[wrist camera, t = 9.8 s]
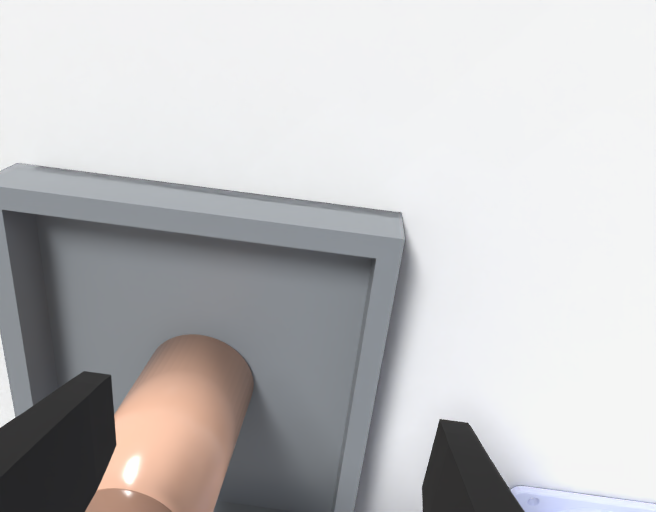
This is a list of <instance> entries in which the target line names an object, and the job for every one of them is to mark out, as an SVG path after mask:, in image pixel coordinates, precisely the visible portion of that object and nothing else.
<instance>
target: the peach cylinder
mask: <svg viewBox="0 0 656 512" xmlns="http://www.w3.org/2000/svg"><path fill="white" fill-rule="evenodd" d="M253 387H254V382H253V376H252V372H251V370H250V368H249V366H248V364H247V363H246V361H245V360H244V359H243V357H242V356H241V355H240V354H239V353H238V352H237V351H236V350H234V349H233V348H232V347H231V346H229V345H227V344H226V343H224V342H222V341H220V340H217V339H215V338H212V337H208V336H204V335H195V334H189V335H181V336H176V337H174V338H171V339H169V340H167V341H165V342H164V343H162V344H161V345H160V346H159V347H158V348H157V349H156V350H155V352H154V353H153V355H152V356H151V358H150V360H149V361H148V363H147V364H146V366H145V367H144V369H143V370H142V372H141V374H140V375H139V377H138V378H137V380H136V381H135V383H134V384H133V386H132V388H131V389H130V391H129V392H128V394H127V395H126V397H125V398H124V400H123V402H122V403H121V405H120V406H119V408H118V409H117V411H116V412H115V414H114V418H115V431H116V444H117V445H116V448H115V450H114V453H113V455H112V457H111V460H110V462H109V465H108V467H107V469H106V472H105V474H104V476H103V478H102V481H101V483H100V485H99V487H98V489H97V491H96V493H95V495H94V497H93V498H92V500H91V502H90V504H89V505H88V507H87V509H86V511H85V512H213V511H214V508H215V505H216V502H217V499H218V496H219V493H220V490H221V487H222V484H223V481H224V478H225V475H226V472H227V469H228V466H229V463H230V460H231V457H232V454H233V451H234V448H235V445H236V442H237V439H238V436H239V433H240V430H241V427H242V424H243V421H244V418H245V415H246V412H247V409H248V406H249V403H250V400H251V397H252V393H253Z"/></svg>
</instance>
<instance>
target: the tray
mask: <svg viewBox="0 0 656 512" xmlns="http://www.w3.org/2000/svg"><path fill="white" fill-rule="evenodd" d="M404 243H405V235H404V228H403V221H402V214H401V213H400V212H392V211H384V210H376V209H369V208H361V207H353V206H345V205H338V204H330V203H322V202H315V201H307V200H299V199H291V198H284V197H276V196H268V195H260V194H253V193H245V192H237V191H229V190H222V189H214V188H206V187H198V186H191V185H183V184H175V183H167V182H160V181H152V180H144V179H137V178H129V177H121V176H113V175H106V174H98V173H90V172H82V171H75V170H67V169H59V168H51V167H44V166H36V165H28V164H20V163H16V164H14V165H12V166H10V167H8V168H6V169H3V170H1V171H0V333H1V339H2V344H3V350H4V356H5V361H6V367H7V372H8V378H9V384H10V389H11V395H12V400H13V406H14V412H15V417H17V416H19V415H20V414H22V413H23V412H25V411H26V410H28V409H29V408H31V407H32V406H34V405H35V404H36V403H38V402H39V401H41V400H42V399H44V398H45V397H47V396H48V395H49V394H51V393H52V392H54V391H55V390H57V389H58V388H60V387H61V386H62V385H64V384H65V383H67V382H68V381H70V380H71V379H73V378H74V377H76V376H77V375H79V374H80V373H82V372H83V371H87V372H95V373H102V374H109V375H111V379H112V392H113V405H114V414H115V412H116V411H117V409H118V408H119V406H120V405H121V403H122V402H123V400H124V398H125V397H126V395H127V394H128V392H129V391H130V389H131V388H132V386H133V384H134V383H135V381H136V380H137V378H138V377H139V375H140V374H141V372H142V370H143V369H144V367H145V366H146V364H147V363H148V361H149V360H150V358H151V356H152V355H153V353H154V352H155V350H156V349H157V348H158V347H159V346H160V345H161V344H162V343H164V342H165V341H167V340H169V339H171V338H174V337H176V336H181V335H189V334H195V335H204V336H208V337H212V338H215V339H217V340H220V341H222V342H224V343H226V344H227V345H229V346H231V347H232V348H233V349H234V350H236V351H237V352H238V353H239V354H240V355H241V356H242V357H243V359H244V360H245V361H246V363H247V364H248V366H249V368H250V370H251V372H252V376H253V382H254V387H253V393H252V397H251V400H250V403H249V406H248V409H247V412H246V415H245V418H244V421H243V424H242V427H241V430H240V433H239V436H238V439H237V442H236V445H235V448H234V451H233V454H232V457H231V460H230V463H229V466H228V469H227V472H226V475H225V478H224V481H223V484H222V487H221V490H220V493H219V496H218V499H217V502H216V505H215V508H214V511H213V512H354V508H355V503H356V497H357V492H358V487H359V482H360V476H361V471H362V466H363V460H364V455H365V450H366V444H367V439H368V434H369V429H370V423H371V418H372V413H373V407H374V402H375V397H376V391H377V386H378V381H379V375H380V370H381V365H382V360H383V354H384V349H385V344H386V338H387V333H388V328H389V322H390V317H391V312H392V307H393V301H394V296H395V291H396V285H397V280H398V275H399V269H400V264H401V259H402V254H403V248H404Z"/></svg>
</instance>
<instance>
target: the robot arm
mask: <svg viewBox="0 0 656 512" xmlns="http://www.w3.org/2000/svg"><path fill="white" fill-rule="evenodd" d="M116 445H117V444H116V431H115V418H114V405H113V392H112V379H111V375H109V374H102V373H95V372H87V371H83V372H82V373H80V374H79V375H77V376H76V377H74V378H73V379H71V380H70V381H68V382H67V383H65V384H64V385H62V386H61V387H60V388H58V389H57V390H55V391H54V392H52V393H51V394H49V395H48V396H47V397H45V398H44V399H42V400H41V401H39V402H38V403H36V404H35V405H34V406H32V407H31V408H29V409H28V410H26V411H25V412H23V413H22V414H20V415H19V416H17V417H16V418H14V419H13V420H11V421H10V422H8V423H7V424H5V425H4V426H2V427H1V428H0V512H85V511H86V509H87V507H88V505H89V504H90V502H91V500H92V498H93V497H94V495H95V493H96V491H97V489H98V487H99V485H100V483H101V481H102V478H103V476H104V474H105V472H106V469H107V467H108V465H109V462H110V460H111V457H112V455H113V453H114V450H115V448H116ZM422 497H423V512H656V504H652V503H644V502H637V501H630V500H623V499H615V498H608V497H601V496H593V495H586V494H579V493H571V492H564V491H557V490H549V489H542V488H535V487H527V486H516V487H514V488H512V489H511V490H510V489H509V488H508V486H507V485H506V483H505V481H504V480H503V478H502V477H501V475H500V474H499V472H498V470H497V469H496V467H495V466H494V464H493V462H492V461H491V459H490V458H489V456H488V454H487V453H486V451H485V449H484V448H483V446H482V444H481V443H480V441H479V439H478V438H477V436H476V434H475V433H474V431H473V429H472V428H471V426H470V425H469V424H468V423H465V422H457V421H450V420H442V419H440V420H439V424H438V428H437V432H436V436H435V440H434V444H433V447H432V451H431V455H430V459H429V463H428V467H427V471H426V474H425V478H424V482H423V486H422ZM530 498H533V499H530Z"/></svg>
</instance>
